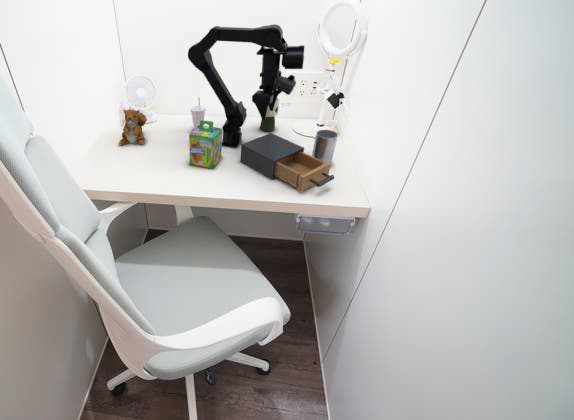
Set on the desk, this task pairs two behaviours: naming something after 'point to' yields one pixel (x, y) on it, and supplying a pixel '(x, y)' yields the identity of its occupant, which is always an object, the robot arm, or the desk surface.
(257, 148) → the organizer
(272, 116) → the character mug
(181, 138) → the desk surface
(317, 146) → the steel cup
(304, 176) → the drawer
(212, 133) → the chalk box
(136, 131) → the stuffed squirrel
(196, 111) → the smoothie
